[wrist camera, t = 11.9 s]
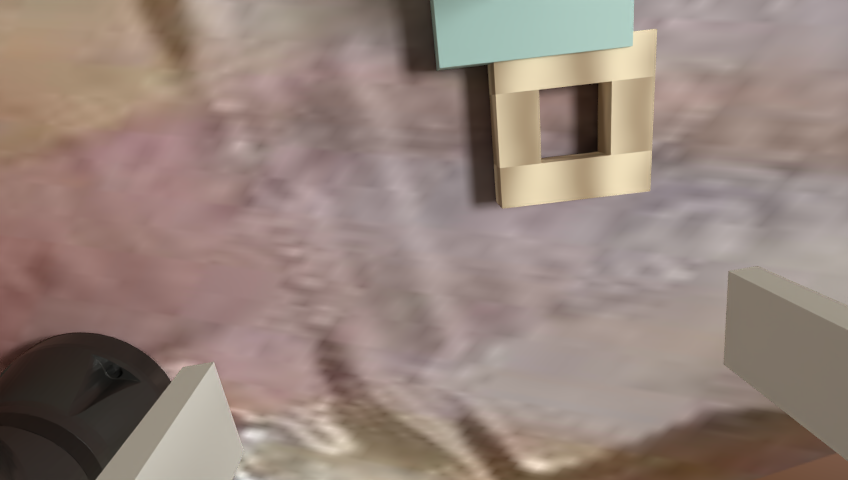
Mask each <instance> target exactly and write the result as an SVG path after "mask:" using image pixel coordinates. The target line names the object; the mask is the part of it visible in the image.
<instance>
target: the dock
mask: <svg viewBox="0 0 848 480" xmlns="http://www.w3.org/2000/svg"><path fill="white" fill-rule="evenodd" d="M430 5H431V15H432V26H433V36H434V47H435V57H436V68H437V71H438V70H447V69H455V68H464V67H473V66H482V65H488V64H491V63H493V62H501V61H510V60H518V59H527V58H536V57H545V56H553V55H562V54H571V53H580V52H588V51H597V50H606V49H614V48H623V47H631V46H633V18H634V0H430Z"/></svg>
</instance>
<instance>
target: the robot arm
mask: <svg viewBox="0 0 848 480" xmlns="http://www.w3.org/2000/svg"><path fill="white" fill-rule="evenodd" d="M724 365H725V366H726V367H728V368H729V369H730V370H732V371H733V372H734V373H735V374H737V375H738V376H739V377H741V378H742V379H743V380H744V381H746V382H747V383H748V384H750V385H751V386H752V387H753V388H755V389H756V390H757V391H759V392H760V393H761V394H762V395H764V396H765V397H766V398H768V399H769V400H770V401H771V402H773V403H774V404H775V405H777V406H778V407H779V408H780V409H782V410H783V411H784V412H786V413H787V414H788V415H789V416H791V417H792V418H793V419H795V420H796V421H797V422H798V423H800V424H801V425H802V426H804V427H805V428H806V429H807V430H809V431H810V432H811V433H813V434H814V435H815V436H816V437H818V438H819V439H820V440H822V441H823V442H824V443H825V444H827V445H828V446H829V447H830V448H832V449H833V450H834V451H836V452H837V453H838V454H839V455H841V456H842V457H844V458H845V459H846V460H847V461H848V306H847V305H845V304H842V303H840V302H838V301H836V300H833V299H831V298H829V297H827V296H824V295H822V294H820V293H818V292H815V291H813V290H811V289H808V288H806V287H804V286H802V285H799V284H797V283H795V282H793V281H790V280H788V279H786V278H784V277H781V276H779V275H777V274H774V273H772V272H770V271H768V270H765V269H763V268H761V267H759V266H755V267H749V268H744V269H738V270H732V271H729V273H728V291H727V310H726V329H725V348H724ZM243 453H244V450H243V447H242V444H241V441H240V438H239V435H238V432H237V429H236V426H235V423H234V420H233V417H232V414H231V411H230V408H229V405H228V402H227V399H226V396H225V393H224V390H223V387H222V385H221V382H220V379H219V376H218V373H217V370H216V367H215V364H214V362H210V363H204V364H199V365H193V366H187V367H183V368H182V369H181V370H180V371H179V373H178V374H177V375H176V377H175V378H174V379H173V381H172V382H171V381H170V379H169V378H168V376H167V375H166V374H165V372H164V371H163V370H162V369H161V368H160V366H159V365H158V364H157V363H156V362H155V361H153V360H152V359H151V358H150V357H149V356H147V355H146V354H145V353H143V352H142V351H140V350H139V349H137V348H135V347H133V346H131V345H129V344H127V343H125V342H123V341H120V340H117V339H115V338H111V337H108V336H103V335H98V334H90V333H72V334H64V335H60V336H56V337H52V338H50V339H47V340H45V341H43V342H41V343H39V344H37V345H36V346H34V347H33V348H31V349H30V350H28V351H27V352H25V353H24V354H22V355H21V356H19V357H18V358H17V359H15V360H14V361H13V362H12V363H11V364H10V365H9V366H7V368H6V369H5V370H4V371H3V372H2V373H1V375H0V480H233V478H234V475H235V473H236V470H237V468H238V465H239V463H240V461H241V458H242V456H243Z"/></svg>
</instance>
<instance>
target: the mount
mask: <svg viewBox="0 0 848 480" xmlns="http://www.w3.org/2000/svg"><path fill="white" fill-rule="evenodd" d="M656 42H657V29H651V30H642V31H633V46H631V47H623V48H614V49H606V50H597V51H588V52H580V53H571V54H562V55H553V56H545V57H536V58H527V59H518V60H510V61H501V62H493V63H491V64H488V80H489V95H490V111H491V127H492V143H493V159H494V175H495V191H496V202H497V203H498V204H499V205H500V207H501V208H502V209H503V208H511V207H520V206H528V205H537V204H545V203H554V202H562V201H571V200H579V199H588V198H596V197H604V196H613V195H621V194H630V193H638V192H647V191H650V183H651V160H652V136H653V113H654V89H655V65H656ZM592 83H598V152H591V153H582V154H574V155H565V156H556V157H548V158H541V140H540V108H539V90H540V89H548V88H557V87H566V86H574V85H583V84H592Z"/></svg>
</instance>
